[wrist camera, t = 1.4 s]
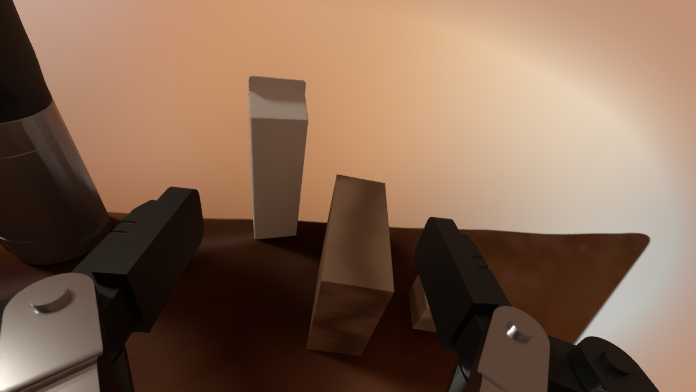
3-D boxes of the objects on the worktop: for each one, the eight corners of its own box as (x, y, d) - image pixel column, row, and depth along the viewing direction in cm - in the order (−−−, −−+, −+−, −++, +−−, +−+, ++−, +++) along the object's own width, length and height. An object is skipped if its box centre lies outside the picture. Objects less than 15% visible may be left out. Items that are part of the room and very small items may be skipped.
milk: (252, 211, 45) (246, 65, 31) (291, 209, 47) (301, 71, 33) (254, 240, 40) (248, 86, 27) (297, 236, 43) (311, 90, 29)
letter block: (412, 328, 35) (427, 308, 32) (407, 292, 39) (420, 270, 36) (452, 334, 35) (471, 314, 32) (444, 298, 39) (459, 277, 36)
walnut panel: (306, 349, 31) (321, 280, 23) (323, 244, 42) (336, 174, 34) (361, 356, 31) (396, 292, 23) (363, 250, 43) (386, 183, 35)
